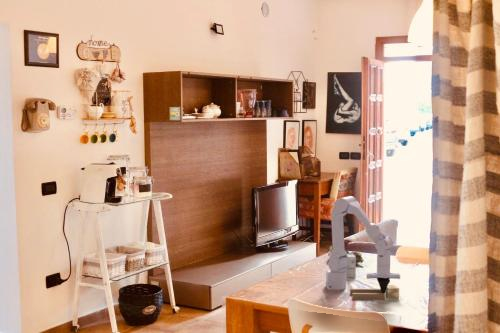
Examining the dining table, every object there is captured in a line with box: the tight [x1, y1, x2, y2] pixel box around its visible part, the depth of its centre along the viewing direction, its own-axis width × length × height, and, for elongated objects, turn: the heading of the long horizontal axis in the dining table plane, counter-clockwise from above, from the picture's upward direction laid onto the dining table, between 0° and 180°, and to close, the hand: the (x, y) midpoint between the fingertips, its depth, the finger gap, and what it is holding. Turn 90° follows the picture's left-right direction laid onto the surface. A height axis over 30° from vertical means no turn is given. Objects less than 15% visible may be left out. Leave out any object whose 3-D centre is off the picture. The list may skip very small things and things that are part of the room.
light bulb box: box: [346, 254, 357, 278], centre depth 309 cm, size 11×7×11 cm, turn 92°
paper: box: [327, 245, 365, 264], centre depth 339 cm, size 25×16×8 cm, turn 57°
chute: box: [349, 288, 404, 301], centre depth 271 cm, size 22×9×3 cm, turn 89°
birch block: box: [385, 284, 400, 298], centre depth 271 cm, size 5×5×4 cm
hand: (383, 294), depth 271 cm, fingers closed
